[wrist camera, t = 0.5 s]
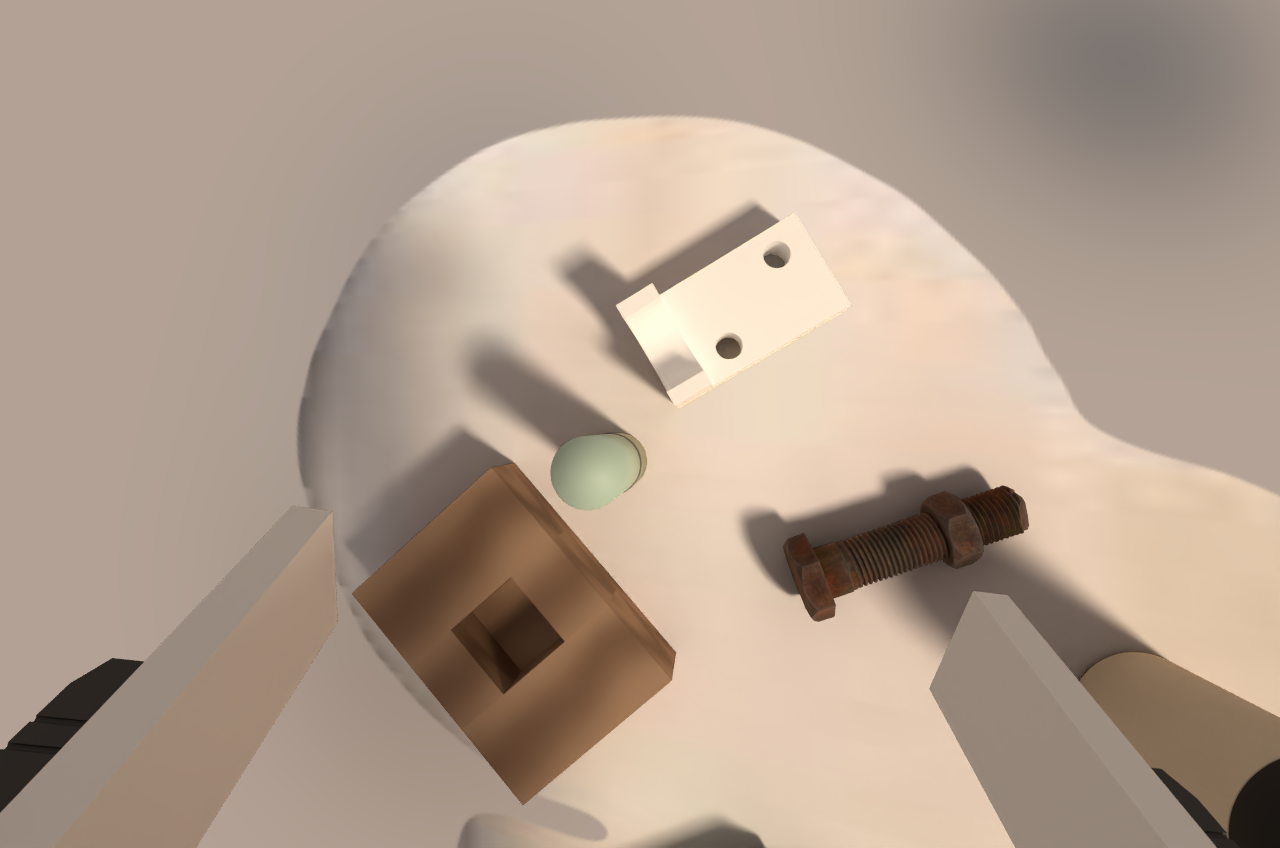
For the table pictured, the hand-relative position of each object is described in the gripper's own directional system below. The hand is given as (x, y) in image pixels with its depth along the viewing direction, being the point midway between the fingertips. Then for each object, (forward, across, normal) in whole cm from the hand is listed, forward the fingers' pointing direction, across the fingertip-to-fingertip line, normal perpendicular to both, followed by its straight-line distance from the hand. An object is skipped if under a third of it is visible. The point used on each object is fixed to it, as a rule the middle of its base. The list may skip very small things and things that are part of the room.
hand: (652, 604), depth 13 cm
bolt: (+27, -20, +14) cm, 36 cm away
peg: (+30, 0, +12) cm, 33 cm away
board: (+27, +5, +24) cm, 36 cm away
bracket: (+34, -7, +2) cm, 35 cm away
